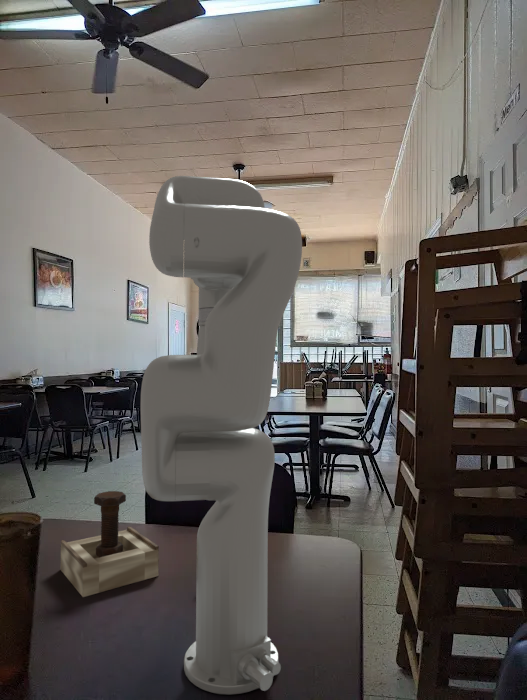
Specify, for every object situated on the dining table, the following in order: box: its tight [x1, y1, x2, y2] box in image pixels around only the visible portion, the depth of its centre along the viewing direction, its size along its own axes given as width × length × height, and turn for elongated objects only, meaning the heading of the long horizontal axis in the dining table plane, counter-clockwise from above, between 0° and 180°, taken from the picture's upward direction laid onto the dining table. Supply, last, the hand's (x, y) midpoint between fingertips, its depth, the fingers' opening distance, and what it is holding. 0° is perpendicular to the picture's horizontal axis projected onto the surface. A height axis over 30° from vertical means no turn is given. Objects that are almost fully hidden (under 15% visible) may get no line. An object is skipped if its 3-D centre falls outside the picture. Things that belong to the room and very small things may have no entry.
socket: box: [60, 526, 160, 598], centre depth 94 cm, size 14×14×6 cm
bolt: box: [93, 490, 127, 558], centre depth 93 cm, size 6×5×15 cm
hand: (216, 402), depth 100 cm, fingers open, 9 cm apart
